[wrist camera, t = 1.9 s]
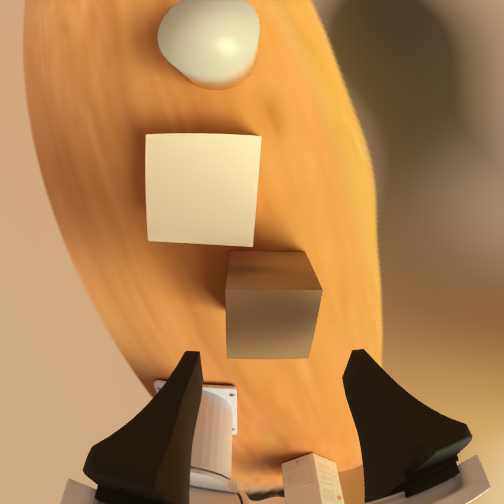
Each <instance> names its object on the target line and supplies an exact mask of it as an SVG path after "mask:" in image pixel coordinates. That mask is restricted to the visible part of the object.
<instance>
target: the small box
mask: <svg viewBox="0 0 504 504" xmlns="http://www.w3.org/2000/svg"><path fill="white" fill-rule="evenodd" d="M282 475H283V484H284V494H285V503H286V504H344V500H343V495H342V491H341V486H340V482H339V477H338V472H337V468H336V463H335V462H334V461H331V460H329V459H326V458H324V457H322V456H319V455H317V454H315V453H310V454H307V455H305V456H302V457H299V458H296V459H294V460H291V461H288V462H285V463H282Z"/></svg>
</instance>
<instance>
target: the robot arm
mask: <svg viewBox="0 0 504 504" xmlns="http://www.w3.org/2000/svg"><path fill="white" fill-rule="evenodd" d="M342 378H343V384H344V389H345V394H346V398H347V401H348V404H349V407H350V410H351V413H352V416H353V419H354V422H355V426H356V429H357V432H358V436H359V441H360V447H361V453H362V460H363V467H364V482H365V503H364V504H468V503H470V502H471V501H473V500H474V499H476V498H477V497H479V496H480V495H482V494H483V493H485V492H486V491H488V490H489V489H490V488H491V486H490V484H489V481H488V479H487V477H486V474H485V472H484V469H483V467H482V465H481V462H480V460H479V458H478V456H477V455H475V456H473V457H471V458H470V459H468V460H466V461H464V462H462V463H461V464H459V465H458V466H457V464H456V461H458V457H457V454H458V453H459V452H460V451H461V450H462V449H463V448H465V446H467V445H468V443H469V442H470V441H471V440H472V435H471V433H470V431H469V429H468V427H467V425H466V424H464V423H461V422H459V421H456V420H453V419H450V418H448V417H446V416H444V415H441V414H440V413H438V412H436V411H434V410H433V409H431V408H429V407H428V406H426V405H424V404H423V403H421V402H420V401H418V400H417V399H416V398H414V397H413V396H412V395H410V394H409V393H408V392H407V391H405V390H404V389H403V388H402V387H401V386H399V385H398V384H397V383H396V382H395V381H394V380H393V379H392V378H391V377H390V376H389V375H388V374H387V373H386V372H385V371H384V370H383V369H382V368H381V367H380V366H379V365H378V364H377V363H376V362H375V361H374V360H373V359H372V357H371V356H370V355H369V354H368V353H367V352H366V351H365V350H364V349H360V350H352V353H351V355H350V358H349V361H348V364H347V367H346V369H345V372H344V375H343V377H342ZM154 387H155V390H156V393H157V394H156V395H155V397H154V398H153V399H152V400H151V401H150V402H149V403H148V404H147V406H146V407H145V408H144V409H143V410H142V411H141V412H140V413H138V414H137V415H136V416H135V417H134V418H133V419H132V420H131V421H129V422H128V423H127V424H126V425H124V426H123V427H122V428H120V429H119V430H118V431H116V432H115V433H114V434H112V435H111V436H109V437H108V438H106V439H104V440H102V441H101V442H99V443H97V444H96V445H94V446H92V448H91V450H90V452H89V454H88V456H87V459H86V462H85V465H84V468H83V472H84V474H85V475H86V476H88V477H89V478H90V479H91V480H92V481H94V482H95V483H96V484H97V485H98V487H97V490H96V489H93V488H91V487H89V486H87V485H84V484H81V483H79V482H76V481H74V480H71V479H68V482H67V484H66V488H65V491H64V494H63V497H62V501H61V504H252V503H251V501H250V499H249V498H248V497H247V495H246V494H245V493H244V492H243V491H241V490H238V482H237V481H233V480H231V462H232V435H235V434H237V388H236V387H234V386H221V385H203V375H202V367H201V359H200V352H196V351H186V352H184V354H183V356H182V358H181V360H180V362H179V363H178V365H177V366H176V368H175V370H174V371H173V373H172V374H171V376H170V377H169V378H168V380H167V381H161V380H156V381H155V382H154Z"/></svg>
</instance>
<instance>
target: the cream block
mask: <svg viewBox="0 0 504 504" xmlns="http://www.w3.org/2000/svg"><path fill="white" fill-rule="evenodd" d="M260 149H261V136H252V135H235V134H205V133H174V134H146V152H145V181H146V214H147V232H148V241H157V242H175V243H193V244H211V245H228V246H245V247H253V240H254V227H255V214H256V201H257V188H258V175H259V162H260Z"/></svg>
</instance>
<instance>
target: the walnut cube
mask: <svg viewBox="0 0 504 504" xmlns="http://www.w3.org/2000/svg"><path fill="white" fill-rule="evenodd" d="M321 296H322V288H321V285H320V283H319V281H318V279H317V277H316V274H315V272H314V270H313V268H312V266H311V263H310V261H309V259H308V257H307V255H306V253H305V252H289V251H248V250H230V256H229V264H228V271H227V279H226V287H225V301H226V344H227V359H301V358H309V354H310V350H311V345H312V341H313V336H314V331H315V327H316V322H317V317H318V312H319V306H320V301H321Z"/></svg>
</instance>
